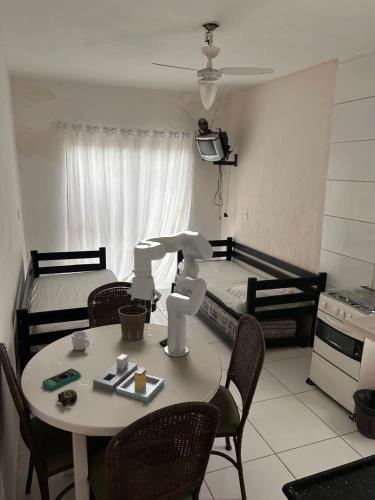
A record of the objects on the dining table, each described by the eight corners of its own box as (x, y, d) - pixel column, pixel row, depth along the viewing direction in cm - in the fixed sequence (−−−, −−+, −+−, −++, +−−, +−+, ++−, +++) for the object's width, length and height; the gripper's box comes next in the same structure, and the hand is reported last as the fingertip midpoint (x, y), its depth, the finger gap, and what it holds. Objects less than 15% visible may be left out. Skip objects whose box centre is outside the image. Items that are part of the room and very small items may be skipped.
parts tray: (135, 376, 169) (134, 371, 169) (163, 384, 163) (163, 379, 163) (116, 393, 156) (115, 388, 155) (146, 402, 150) (146, 397, 149)
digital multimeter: (82, 378, 167) (82, 372, 167) (51, 393, 156) (51, 386, 155) (72, 372, 172) (72, 366, 172) (42, 386, 160) (41, 380, 160)
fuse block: (119, 366, 178) (119, 359, 177) (137, 370, 174) (137, 364, 173) (93, 387, 160) (93, 379, 159) (112, 393, 156) (112, 385, 155)
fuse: (122, 369, 174) (122, 353, 172) (127, 370, 173) (127, 355, 171) (117, 374, 170) (116, 358, 168) (122, 375, 169) (122, 359, 167)
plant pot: (147, 330, 219) (147, 304, 215) (146, 342, 203) (146, 315, 200) (120, 330, 218) (119, 304, 214) (116, 343, 202) (116, 315, 199)
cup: (94, 348, 195) (94, 334, 193) (82, 354, 188) (82, 340, 186) (80, 343, 200) (79, 329, 199) (68, 349, 194) (68, 335, 192)
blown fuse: (140, 384, 162) (140, 367, 160) (146, 385, 161) (146, 369, 159) (134, 389, 158) (134, 372, 156) (140, 391, 157) (140, 374, 155)
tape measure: (57, 400, 151) (57, 392, 150) (74, 395, 154) (73, 386, 154) (62, 409, 145) (61, 400, 144) (79, 403, 149) (79, 395, 148)
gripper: (121, 273, 162) (123, 309, 166) (156, 278, 155) (157, 315, 159) (130, 268, 168) (131, 304, 172) (164, 273, 162) (165, 309, 166)
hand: (144, 309), depth 166 cm, fingers open, 9 cm apart
